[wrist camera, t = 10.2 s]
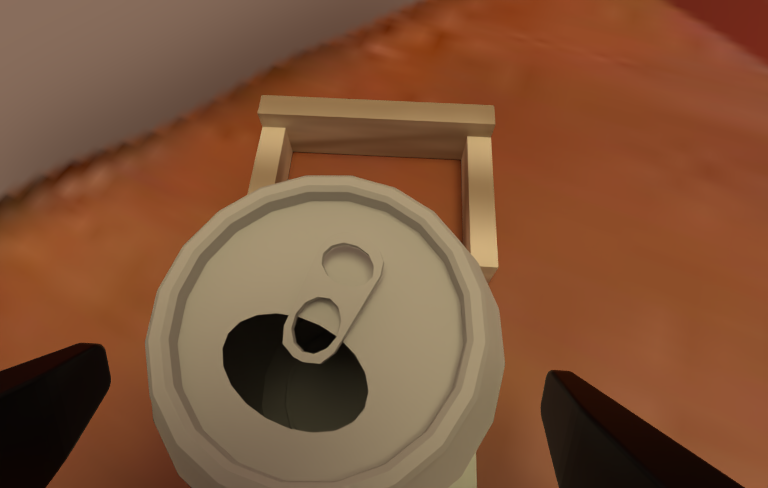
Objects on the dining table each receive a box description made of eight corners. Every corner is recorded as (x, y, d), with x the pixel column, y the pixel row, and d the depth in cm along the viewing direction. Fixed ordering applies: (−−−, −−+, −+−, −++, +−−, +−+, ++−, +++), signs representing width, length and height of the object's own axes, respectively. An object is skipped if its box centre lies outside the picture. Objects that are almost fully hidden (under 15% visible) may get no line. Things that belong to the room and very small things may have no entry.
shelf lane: (488, 283, 21) (503, 258, 18) (247, 269, 21) (227, 243, 19) (481, 143, 25) (493, 105, 22) (274, 133, 25) (261, 95, 22)
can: (231, 434, 18) (-1, 408, 7) (324, 281, 21) (260, 96, 10) (395, 533, 16) (416, 693, 6) (471, 354, 19) (583, 231, 8)
